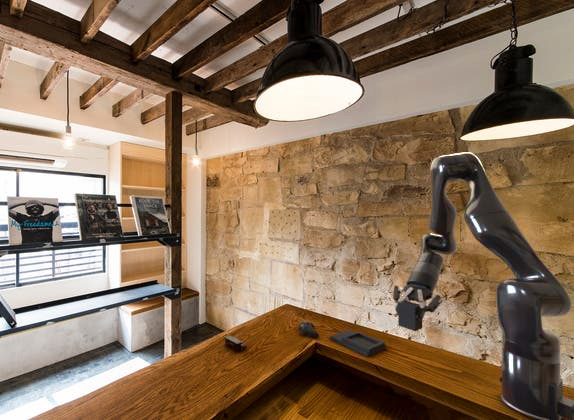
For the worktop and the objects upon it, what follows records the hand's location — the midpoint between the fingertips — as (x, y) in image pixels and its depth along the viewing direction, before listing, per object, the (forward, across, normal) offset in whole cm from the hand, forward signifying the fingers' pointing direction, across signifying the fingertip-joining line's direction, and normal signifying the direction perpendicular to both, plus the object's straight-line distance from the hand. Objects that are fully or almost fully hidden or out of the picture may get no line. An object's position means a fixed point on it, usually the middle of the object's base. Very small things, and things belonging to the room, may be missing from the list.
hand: (407, 315), depth 89 cm
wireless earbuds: (+45, -32, -24) cm, 61 cm away
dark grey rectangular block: (+2, 0, +4) cm, 5 cm away
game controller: (+21, -29, 0) cm, 35 cm away
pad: (+14, -14, +6) cm, 21 cm away
